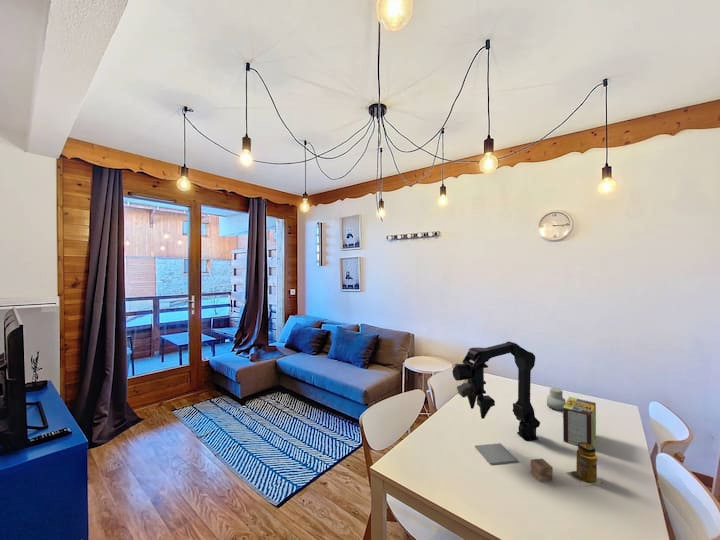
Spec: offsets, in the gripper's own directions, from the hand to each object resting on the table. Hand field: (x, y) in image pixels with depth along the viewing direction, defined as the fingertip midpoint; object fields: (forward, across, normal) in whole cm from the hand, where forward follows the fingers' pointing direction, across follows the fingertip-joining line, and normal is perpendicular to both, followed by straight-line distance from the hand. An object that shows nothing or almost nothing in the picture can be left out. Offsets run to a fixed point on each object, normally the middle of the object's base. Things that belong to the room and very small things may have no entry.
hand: (477, 413), depth 134 cm
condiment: (+15, +24, +29) cm, 40 cm away
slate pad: (+14, +7, +4) cm, 16 cm away
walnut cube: (+14, +22, +14) cm, 29 cm away
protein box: (+15, +1, +48) cm, 50 cm away
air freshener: (+15, -28, +61) cm, 69 cm away
